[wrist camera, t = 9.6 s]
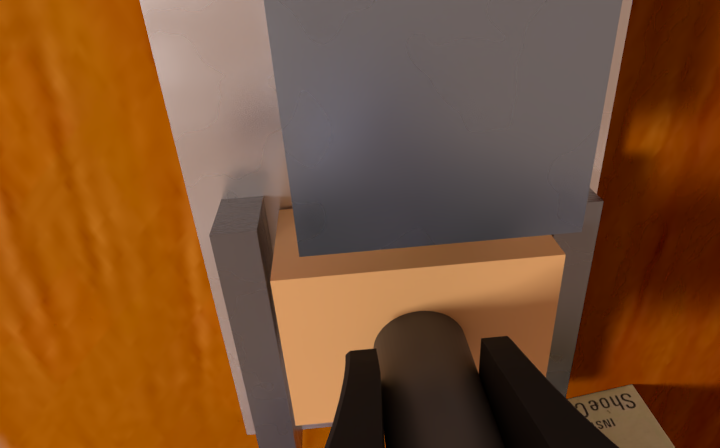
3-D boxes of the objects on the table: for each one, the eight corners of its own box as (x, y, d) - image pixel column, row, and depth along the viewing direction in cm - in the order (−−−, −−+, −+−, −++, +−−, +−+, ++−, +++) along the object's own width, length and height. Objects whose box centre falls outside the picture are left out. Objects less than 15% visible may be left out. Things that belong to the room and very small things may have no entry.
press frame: (543, 375, 22) (599, 487, 18) (251, 403, 21) (235, 525, 17) (651, -302, 12) (850, -433, 7) (94, -272, 11) (-45, -391, 7)
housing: (483, 170, 15) (569, 298, 10) (310, 185, 15) (308, 323, 10) (500, -91, 12) (639, -98, 7) (280, -76, 12) (253, -72, 7)
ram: (504, 320, 18) (632, 594, 11) (299, 340, 18) (287, 633, 11) (517, 189, 16) (696, 430, 8) (279, 209, 15) (245, 476, 8)
